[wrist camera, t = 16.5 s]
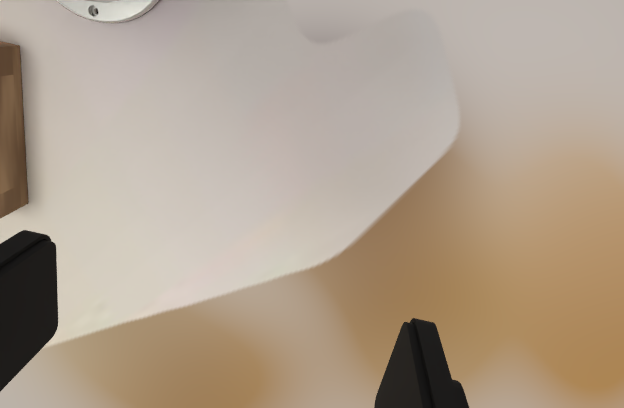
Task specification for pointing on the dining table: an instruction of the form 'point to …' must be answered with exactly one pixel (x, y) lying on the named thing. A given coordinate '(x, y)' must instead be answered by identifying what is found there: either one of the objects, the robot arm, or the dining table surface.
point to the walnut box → (11, 132)
